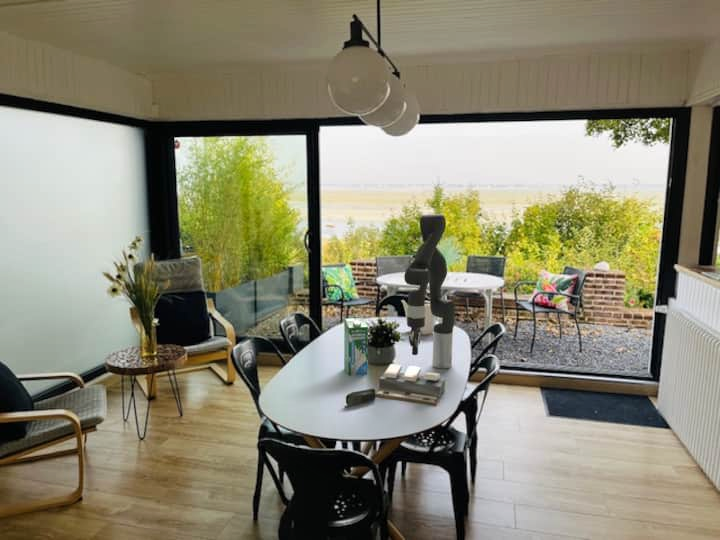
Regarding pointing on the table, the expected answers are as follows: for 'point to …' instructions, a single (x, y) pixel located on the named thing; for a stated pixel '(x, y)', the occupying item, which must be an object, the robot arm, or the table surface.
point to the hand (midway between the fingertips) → (414, 354)
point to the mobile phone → (360, 397)
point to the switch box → (411, 389)
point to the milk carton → (355, 346)
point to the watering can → (429, 318)
